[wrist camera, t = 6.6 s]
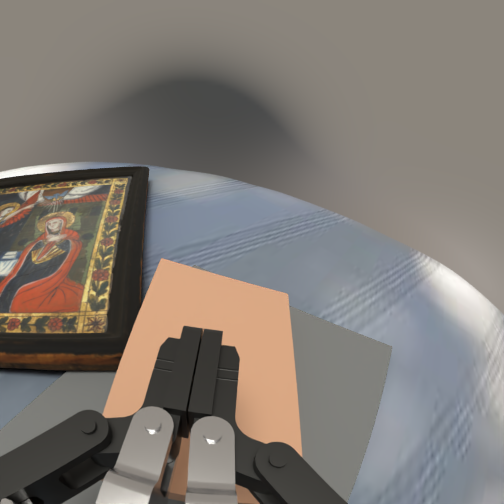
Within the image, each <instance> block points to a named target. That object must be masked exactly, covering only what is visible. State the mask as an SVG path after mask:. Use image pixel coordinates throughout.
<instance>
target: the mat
mask: <svg viewBox="0 0 504 504" xmlns="http://www.w3.org/2000/svg"><path fill="white" fill-rule="evenodd" d="M193 268H197V269H200V270H203V271H207V270H205V269H202V268H200V267H198V266H196V265H194V266H193ZM207 272H209V271H207ZM210 273H211V272H210ZM289 310H290V319H291V329H292V339H293V349H294V360H295V371H296V382H297V393H298V405H299V418H300V431H301V444H302V458H303V459H304V460H305V461H306V462H307V463H308V464H309V465H310V466H311V467H312V468H313V469H314V470H315V471H316V472H317V473H318V475H319V476H320V477H321V478H322V479H323V480H324V481H325V482H326V483H327V484H328V485H329V486H330V487H331V488H332V489H333V490H334V491H335V492H336V493H337V494H338V495H340V496H341V497H342V498H343V499H344V500H345V501H346V502H348V499H349V497H350V494H351V492H352V489H353V486H354V484H355V481H356V478H357V475H358V473H359V470H360V467H361V464H362V461H363V458H364V455H365V452H366V449H367V446H368V443H369V439H370V436H371V433H372V429H373V426H374V423H375V419H376V415H377V412H378V408H379V404H380V400H381V396H382V392H383V388H384V384H385V379H386V375H387V370H388V366H389V361H390V356H391V351H392V346H389V345H387V344H384V343H381V342H379V341H376V340H374V339H371V338H368V337H366V336H363V335H361V334H358V333H356V332H353V331H351V330H348V329H345V328H343V327H340V326H338V325H335V324H333V323H330V322H328V321H325V320H323V319H320V318H318V317H316V316H313V315H311V314H308V313H306V312H303V311H301V310H298V309H296V308H294V307H291V306H289ZM116 373H117V371H76V370H68V371H66V372H65V373H64V374H63V375H62V376H61V377H60V378H58V379H57V380H56V381H55V382H54V383H53V384H51V385H50V386H49V387H48V388H47V389H46V390H45V391H44V392H42V393H41V394H40V395H39V396H38V397H37V398H36V399H34V400H33V401H32V402H31V403H30V404H29V405H28V406H27V407H25V408H24V409H23V410H22V411H21V412H20V413H19V414H18V415H16V416H15V417H14V418H13V419H12V420H11V421H10V422H9V423H8V424H7V425H5V426H4V427H3V428H2V429H1V430H0V457H1V456H3V455H4V454H6V453H8V452H10V451H12V450H14V449H15V448H17V447H19V446H21V445H23V444H24V443H26V442H28V441H30V440H31V439H33V438H35V437H37V436H39V435H40V434H42V433H44V432H46V431H47V430H49V429H51V428H53V427H54V426H56V425H58V424H59V423H61V422H63V421H65V420H66V419H68V418H70V417H71V416H73V415H75V414H76V413H78V412H80V411H83V410H95V411H97V412H99V413H101V414H102V415H103V412H104V408H105V405H106V402H107V399H108V396H109V393H110V390H111V387H112V384H113V381H114V378H115V375H116ZM102 483H103V481H101V480H100V481H98V482H97V483H95V484H94V485H92V486H90V487H89V488H87V489H86V490H84V491H82V492H81V493H79V494H77V495H76V496H74V497H72V498H71V499H69V500H67V501H65V502H64V503H62V504H95V503H96V500H97V497H98V494H99V491H100V488H101V486H102ZM168 504H185V502H184V501H178V500H173V499H168Z"/></svg>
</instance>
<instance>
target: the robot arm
mask: <svg viewBox="0 0 504 504" xmlns="http://www.w3.org/2000/svg"><path fill="white" fill-rule="evenodd" d="M222 337H223V331H219V330H212V329H205V328H204V331H203V328H197V327H190V326H184V327H183V329H182V333H181V337H180V339H178V338H171V337H168V338H167V339H166V340H165V342H164V343H163V344H162V345H161V346H160V348H159V352H158V355H157V360H156V362H155V365H154V369H153V372H152V375H151V378H150V382H149V385H148V389H147V392H146V396H145V399H144V402H143V405H142V406H141V408H140V409H139V410H138V411H137V412H135V413H134V414H132V415H130V416H126V417H115V418H105V417H104V416H103V415H102V414H101V413H99V412H97V411H95V410H83V411H80V412H78V413H76V414H75V415H73V416H71V417H70V418H68V419H66V420H65V421H63V422H61V423H59V424H58V425H56V426H54V427H53V428H51V429H49V430H47V431H46V432H44V433H42V434H40V435H39V436H37V437H35V438H33V439H31V440H30V441H28V442H26V443H24V444H23V445H21V446H19V447H17V448H15V449H14V450H12V451H10V452H8V453H6V454H4V455H3V456H1V457H0V504H62V503H64V502H65V501H67V500H69V499H71V498H72V497H74V496H76V495H77V494H79V493H81V492H82V491H84V490H86V489H87V488H89V487H90V486H92V485H94V484H95V483H97V482H98V481H100V480H102V479H103V478H104V480H103V483H102V486H101V488H100V491H99V494H98V497H97V500H96V503H95V504H168V496H169V492H170V488H171V484H172V480H173V476H174V472H175V468H176V465H177V461H178V457H179V452H180V446H181V440H182V438H189V432H190V448H189V463H188V481H187V489H186V498H185V504H238V502H237V493H236V488H235V484H237V485H239V486H242V487H244V488H247V489H248V490H249V491H250V493H251V494H252V495H253V496H254V497H255V498H256V500H257V501H258V502H259V503H260V504H348V503H347V502H346V501H345V500H344V499H343V498H342V497H341V496H340V495H338V494H337V493H336V492H335V491H334V490H333V489H332V488H331V487H330V486H329V485H328V484H327V483H326V482H325V481H324V480H323V479H322V478H321V477H320V476H319V475H318V473H317V472H316V471H315V470H314V469H313V468H312V467H311V466H310V465H309V464H308V463H307V462H306V461H305V460H304V459H303V458H302V457H301V456H300V455H299V453H298V452H297V451H296V450H295V449H294V448H293V447H291V446H290V445H288V444H286V443H283V442H270V443H267V444H266V443H263V442H260V441H258V440H255V439H252V438H250V437H248V436H247V435H245V434H244V433H243V432H242V431H241V430H240V429H239V428H238V426H237V423H236V420H235V412H236V400H237V388H238V375H239V363H240V357H239V354H238V352H237V350H236V347H235V346H227V345H222Z"/></svg>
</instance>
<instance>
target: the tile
mask: <svg viewBox="0 0 504 504" xmlns="http://www.w3.org/2000/svg"><path fill="white" fill-rule="evenodd" d="M184 326H190V327H197V328H203V331H204V328H205V329H212V330H219V331H223V337H222V345H227V346H235V347H236V350H237V352H238V354H239V357H240V363H239V375H238V388H237V400H236V412H235V420H236V423H237V426H238V428H239V429H240V430H241V431H242V432H243V433H244V434H245V435H247V436H248V437H250V438H252V439H255V440H258V441H260V442H263V443H266V444H267V443H270V442H283V443H286V444H288V445H290V446H291V447H293V448H294V449H295V450H296V451H297V452H298V453H299V455H300V456H301V457H302V444H301V431H300V418H299V405H298V393H297V382H296V371H295V360H294V349H293V339H292V329H291V319H290V310H289V300H288V294H286V293H283V292H279V291H275V290H271V289H268V288H264V287H260V286H257V285H253V284H249V283H246V282H242V281H239V280H235V279H232V278H228V277H224V276H221V275H217V274H214V273H210V272H207V271H203V270H200V269H197V268H193V267H190V266H186V265H183V264H179V263H176V262H173V261H169V260H166V259H163V258H161V260H160V263H159V265H158V267H157V270H156V272H155V274H154V277H153V279H152V282H151V284H150V286H149V289H148V291H147V294H146V296H145V298H144V301H143V303H142V306H141V308H140V311H139V313H138V316H137V319H136V321H135V324H134V326H133V329H132V331H131V334H130V337H129V339H128V342H127V345H126V347H125V350H124V353H123V356H122V358H121V361H120V364H119V367H118V370H117V373H116V375H115V378H114V381H113V384H112V387H111V390H110V393H109V396H108V399H107V402H106V405H105V408H104V412H103V416H104V417H105V418H115V417H126V416H130V415H132V414H134V413H135V412H137V411H138V410H139V409H140V408H141V406H142V405H143V402H144V399H145V396H146V392H147V389H148V385H149V382H150V378H151V375H152V372H153V369H154V365H155V362H156V360H157V355H158V352H159V348H160V346H161V345H162V344H163V343H164V342H165V340H166V339H167V338H168V337H171V338H178V339H180V337H181V333H182V329H183V327H184ZM189 448H190V432H189V438H182V440H181V446H180V452H179V457H178V461H177V465H176V468H175V472H174V476H173V480H172V484H171V488H170V492H169V496H168V499H173V500H178V501H184V502H185V498H186V489H187V481H188V463H189ZM103 480H104V478H103V479H102V480H101V481H103ZM235 488H236V493H237V502H238V504H260V503H259V502H258V501H257V500H256V498H255V497H254V496H253V495H252V494H251V493H250V491H249V490H248V489H247V488H244V487H242V486H239V485H237V484H235Z"/></svg>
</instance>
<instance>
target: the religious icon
mask: <svg viewBox="0 0 504 504" xmlns="http://www.w3.org/2000/svg"><path fill="white" fill-rule="evenodd" d="M148 177H149V168H148V167H141V166H140V167H116V168H100V169H87V170H74V171H62V172H53V173H43V174H34V175H24V176H16V177H10V178H2V179H0V367H1V368H26V369H39V370H76V371H117V370H118V367H119V364H120V361H121V358H122V356H123V353H124V350H125V347H126V345H127V342H128V339H129V337H130V334H131V331H132V329H133V326H134V324H135V321H136V319H137V316H138V313H139V311H140V308H141V284H142V256H143V239H144V220H145V210H146V199H147V188H148Z"/></svg>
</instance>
